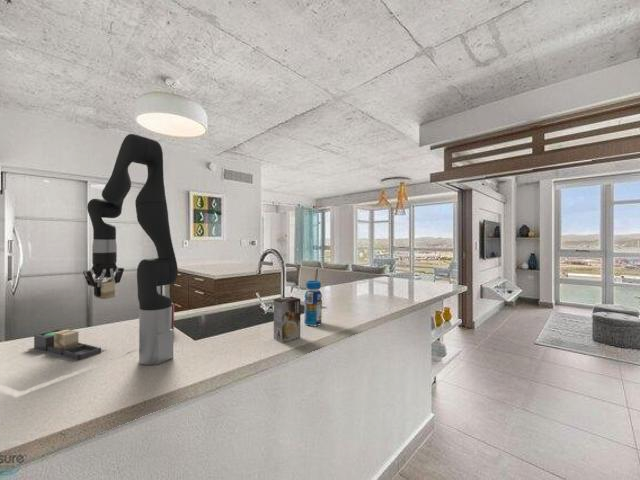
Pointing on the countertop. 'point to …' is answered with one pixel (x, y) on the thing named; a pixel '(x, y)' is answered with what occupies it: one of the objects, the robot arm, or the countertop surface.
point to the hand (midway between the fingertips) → (104, 295)
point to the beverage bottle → (313, 303)
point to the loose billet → (107, 290)
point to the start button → (49, 334)
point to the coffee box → (286, 319)
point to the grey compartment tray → (71, 354)
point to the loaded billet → (65, 339)
